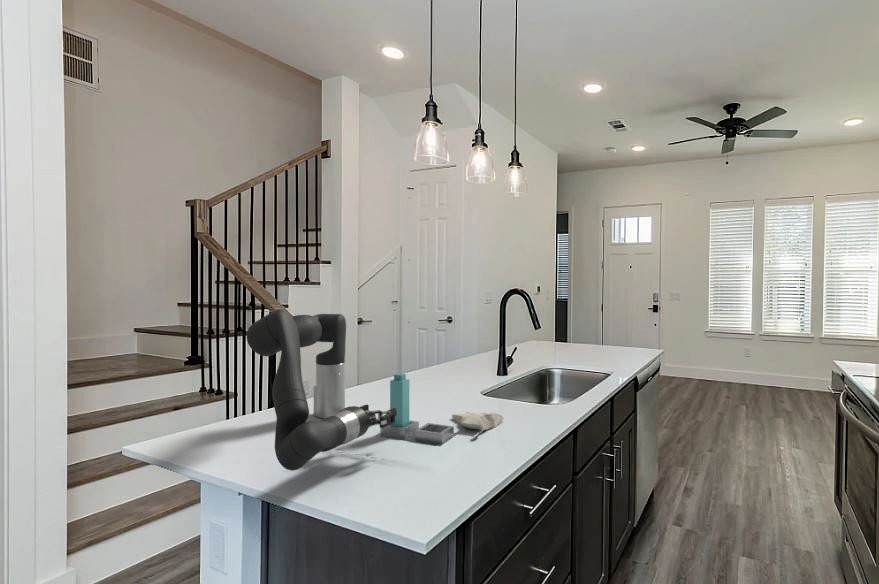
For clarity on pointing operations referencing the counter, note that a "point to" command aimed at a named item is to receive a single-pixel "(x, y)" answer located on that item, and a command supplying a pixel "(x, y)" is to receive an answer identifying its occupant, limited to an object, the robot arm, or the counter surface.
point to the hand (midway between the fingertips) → (381, 409)
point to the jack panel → (419, 433)
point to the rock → (478, 420)
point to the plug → (400, 399)
